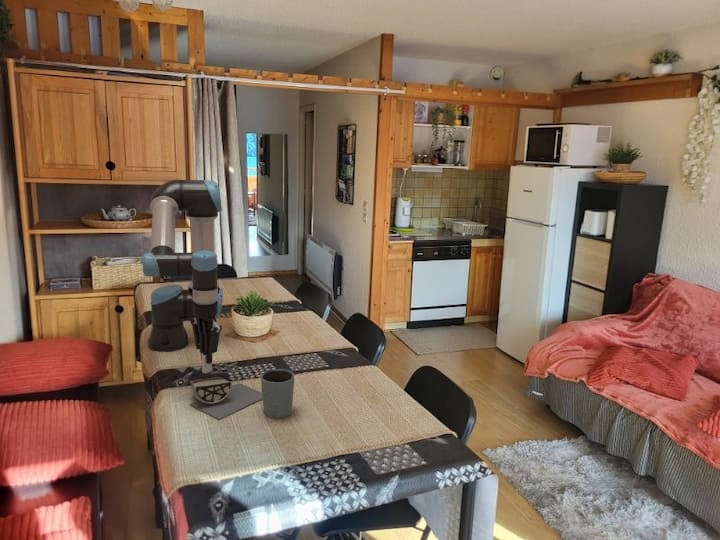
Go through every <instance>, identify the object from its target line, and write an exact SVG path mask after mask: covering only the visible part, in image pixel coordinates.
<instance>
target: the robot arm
mask: <svg viewBox="0 0 720 540" xmlns="http://www.w3.org/2000/svg"><path fill="white" fill-rule="evenodd" d="M149 201H150V202H149V209H150V212H151V213H152V215H151V216H152V217H151V233H150V234H151V235H150V251H149V252H146V253H144V254H143V255H142V272H143V275H144V276H145V277H146V278H147V277H148V278H149V277H150V278H151V277H153V278H154V277H155V278H164V277H165V278H166V277H191V282H189V283H188V286H187V289H184V287H183V286H182V285H179V284H177V285H176V284H169V285H164V286H161V287H157V288H156V289H154V290H153V291H152V292H151V294H150V306H151V307H150V308H151V311H150V312H151V330H150V333H149V337H148V340H147V346H148V349H150V350H151V351H153V352H154V351H155V352H162V351H166V352H174V350H175V351H178V350H179V351H180V350H181V349H182V350H183V349H185V348H186V347H187V346H188V345H190V343H189V340H190V339H189V335H188V333H187V330H186V327H185V325H184V320H190V324H191V327H192V332H193V338H194V343H195V348H196V350H199V352H200V361H201V373H202V374H208V373H210V372H212V371H213V368H212V367H213V365H212V363H213V354H215V353H217V352H218V348H219V341H220V335H221V333H222V332H221V331H222V329H223V327H222V325H218V323H217V318H218V317H219V316H220V315H221V312H222V307H223V295H224V293H223V292H224V290H223V288H221V287H220V284H219V283H218V265H219V263H218V256H217V253H215V224H214V223H215V220H216V219H217V218H218V217H219V214H218V213H220V212H222V211H223V210H222V201H221V194H220V189H219V184H218V183H217V181H214V180H209V179H207V180H206V179H172V180H171V179H170V180H169V181H166V182H164V183H163V184H161V185H160V186H159V187H157V189H156V190H154V192H153V194H152V196H151V198H150V200H149ZM178 212H185V216H186V218H187V219H188V220H189V221H190V222H189V223H190V246H191V247H190V252H176V215H177V213H178Z"/></svg>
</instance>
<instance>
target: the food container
mask: <svg viewBox="0 0 720 540" xmlns="http://www.w3.org/2000/svg"><path fill="white" fill-rule="evenodd" d="M189 383H190V387H191V390H192V394H193V396H194V397H195V399H197V401H198V400H199V401H201V402H203V403H206V404H214V403H218V402H220V401H222V400H223V399H225V398H226V396H227V395H228V394H229V392H230V390H231V387H232V386H233V381H229V380H227V379H225V378H222V377H220V376H217V377H209V378H204V379H203V378H202V379H195V380H190V381H189Z"/></svg>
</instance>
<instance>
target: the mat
mask: <svg viewBox="0 0 720 540" xmlns="http://www.w3.org/2000/svg"><path fill="white" fill-rule="evenodd" d="M260 401H263V396H262V391H259V390H257V389H254V388H252V387H250V386H247V385H246V384H243V383H241V382H238V383H236V384H232V387H231V390H230V392H229V394H228V395H227V396H226V398H225V399H223V400H222V401H220V402H218V403H214V404H206V403H203V402H201V401H199V400H198V399H197V400H195V401H193V402H191V403H189V404H188V405H189V406H190V407H192V408H194V409H196V410H198V411H200V412H202V413H204V414H205V415H208V416H209V417H212V418H214V419H216V420H218V421H220V420H223V419H224V418H227V417H229V416H231V415H233V414H235V413H237V412H239V411H241V410H243V409H246V408H248V407H250V406H252V405H255V404H256V403H259V402H260Z"/></svg>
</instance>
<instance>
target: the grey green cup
mask: <svg viewBox="0 0 720 540" xmlns="http://www.w3.org/2000/svg"><path fill="white" fill-rule="evenodd" d="M260 381H261V384H260V385H261V392H262V396H263V400H262V406H263V413H264V416H266V417H267V418H270V419H275V420H276V419H277V420H278V419H284V418H287V417H289V416H290V415H291V414H292V413H293V399H294V386H295V374H294V372H293V371H292V370H289V369H285V368H275V369H274V368H273V369H267V370H266V371H263V372H262V374H261V375H260Z"/></svg>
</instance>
